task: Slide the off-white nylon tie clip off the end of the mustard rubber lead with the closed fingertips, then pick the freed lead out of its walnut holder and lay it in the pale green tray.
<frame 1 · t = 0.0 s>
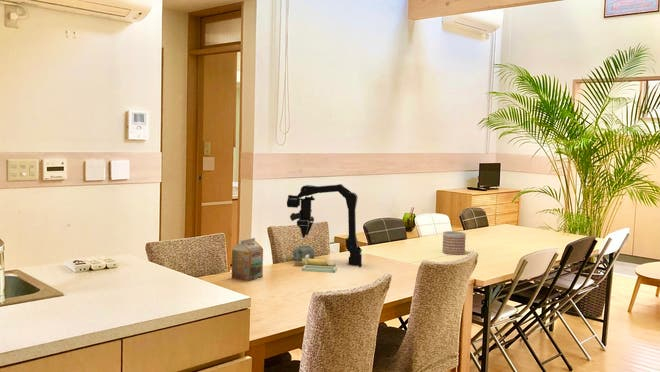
hand: (305, 236, 337), 15 cm above the table, fingers open, 9 cm apart
holder board: (314, 267, 327), on the table
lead: (314, 265, 327), point 1 cm above the table, touching holder board
tray: (319, 271, 316), on the table
milk carton: (247, 278, 298), on the table
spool: (303, 260, 344), on the table
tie: (307, 259, 327), point 4 cm above the table, slide at 0.0 cm
planter: (453, 253, 381), on the table
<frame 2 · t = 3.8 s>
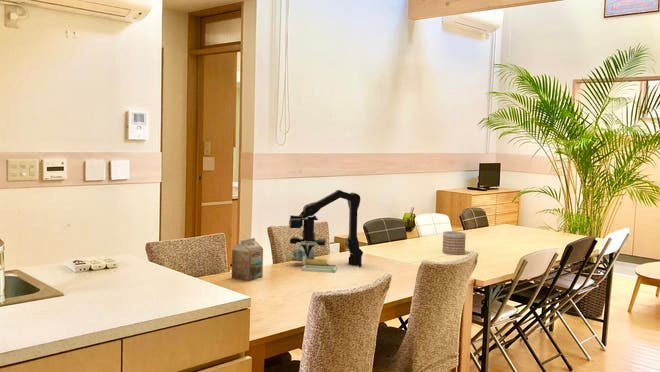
hand: (307, 257, 327), 5 cm above the table, fingers closed
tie: (305, 259, 327), point 4 cm above the table, slide at 1.1 cm, touching gripper
everything else where it was.
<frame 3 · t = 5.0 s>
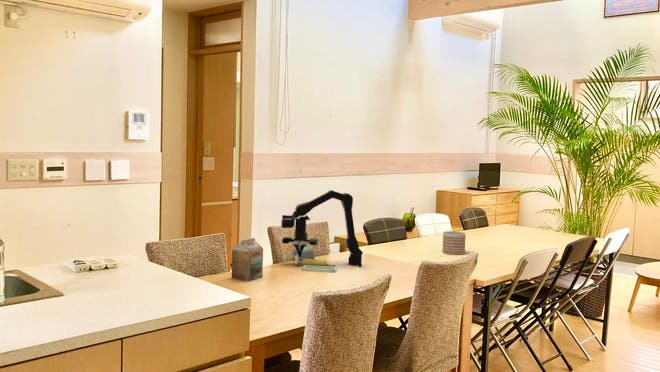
hand: (299, 256, 328), 5 cm above the table, fingers closed
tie: (297, 258, 328), point 4 cm above the table, slide at 5.4 cm, touching gripper
everything else where it was.
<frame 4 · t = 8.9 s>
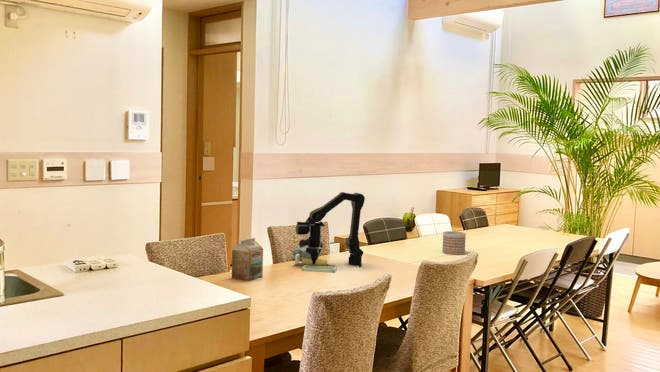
hand: (314, 263, 327), 2 cm above the table, fingers closed on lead, 4 cm apart
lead: (314, 265, 327), point 1 cm above the table, touching gripper, holder board
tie: (297, 258, 328), point 4 cm above the table, slide at 5.4 cm
everything else where it was.
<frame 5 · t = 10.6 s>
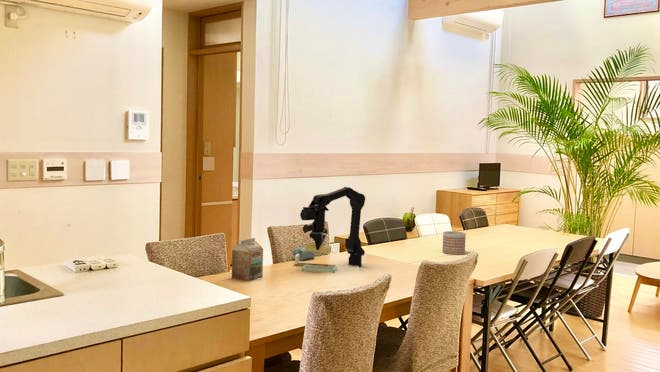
hand: (318, 249, 317), 11 cm above the table, fingers closed on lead, 4 cm apart
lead: (318, 251, 317), point 10 cm above the table, touching gripper
everything else where it was.
when the fingers open (3 cm above the table, at t = 12.5 s): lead drops 1 cm, resting on tray.
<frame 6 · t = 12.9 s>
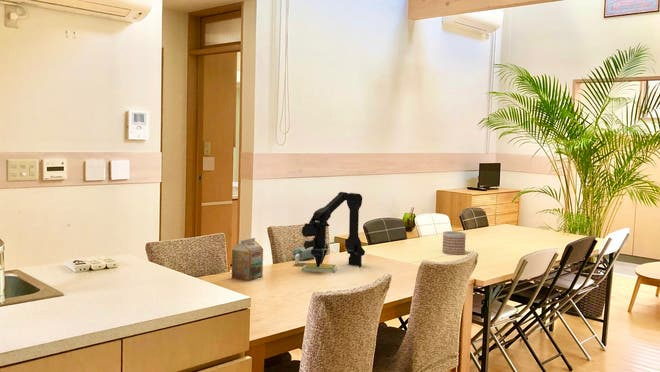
hand: (319, 265, 316), 3 cm above the table, fingers open, 8 cm apart
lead: (319, 270, 316), point 1 cm above the table, touching tray
everything else where it was.
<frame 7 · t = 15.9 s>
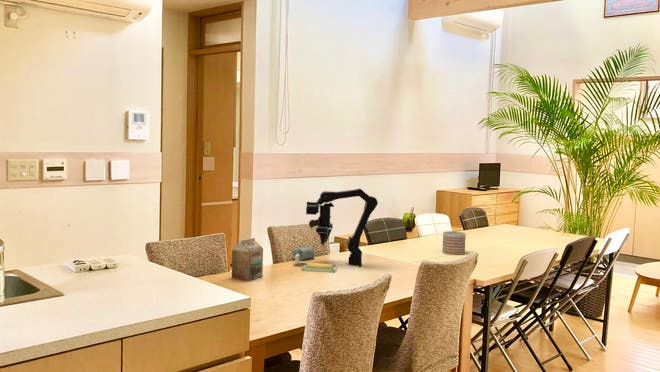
hand: (324, 243, 331), 12 cm above the table, fingers open, 9 cm apart
nothing on the table moved.
at the end: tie slide at 5.4 cm; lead inside the target area on the tray (0.0 cm from its centre), point 0.6 cm above the tray's base; the gripper is holding nothing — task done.
